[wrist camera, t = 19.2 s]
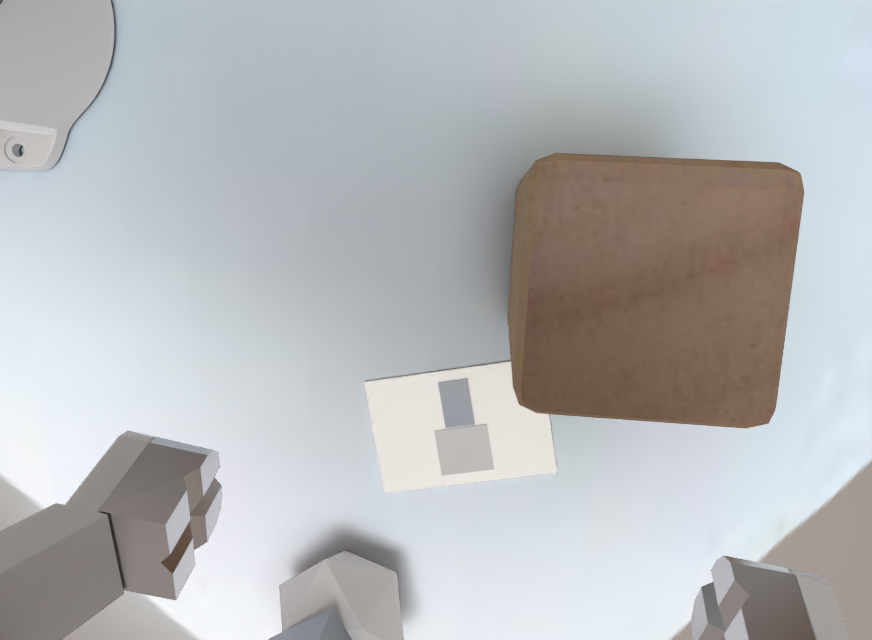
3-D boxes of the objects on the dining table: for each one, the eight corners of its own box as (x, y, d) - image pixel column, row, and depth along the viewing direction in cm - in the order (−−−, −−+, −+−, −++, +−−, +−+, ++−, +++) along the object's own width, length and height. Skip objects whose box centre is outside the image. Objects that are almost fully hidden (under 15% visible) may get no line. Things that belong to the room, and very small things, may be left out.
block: (660, 338, 45) (783, 438, 26) (506, 329, 46) (511, 418, 27) (676, 182, 44) (820, 162, 24) (516, 175, 45) (529, 149, 25)
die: (272, 565, 51) (251, 710, 45) (309, 511, 46) (291, 667, 39) (376, 583, 54) (371, 722, 47) (422, 534, 48) (424, 684, 42)
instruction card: (385, 491, 49) (384, 493, 48) (365, 381, 48) (363, 382, 47) (556, 470, 47) (557, 472, 47) (540, 356, 46) (540, 358, 46)
